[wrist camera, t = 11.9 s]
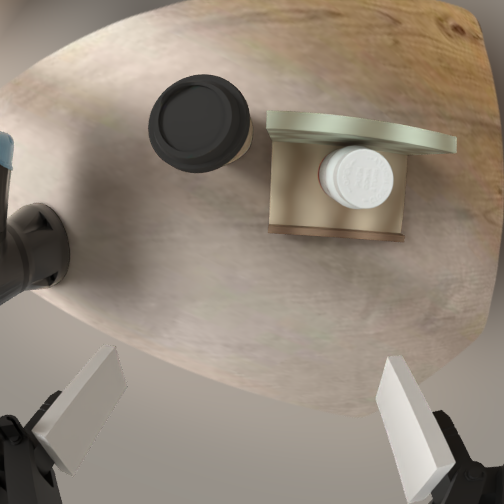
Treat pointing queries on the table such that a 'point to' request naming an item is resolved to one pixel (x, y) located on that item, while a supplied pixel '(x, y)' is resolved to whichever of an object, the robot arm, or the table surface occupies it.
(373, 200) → the pill bottle
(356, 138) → the wooden l-shaped piece
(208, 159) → the coffee cup
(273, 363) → the table surface
